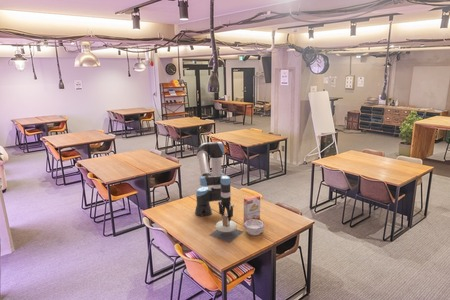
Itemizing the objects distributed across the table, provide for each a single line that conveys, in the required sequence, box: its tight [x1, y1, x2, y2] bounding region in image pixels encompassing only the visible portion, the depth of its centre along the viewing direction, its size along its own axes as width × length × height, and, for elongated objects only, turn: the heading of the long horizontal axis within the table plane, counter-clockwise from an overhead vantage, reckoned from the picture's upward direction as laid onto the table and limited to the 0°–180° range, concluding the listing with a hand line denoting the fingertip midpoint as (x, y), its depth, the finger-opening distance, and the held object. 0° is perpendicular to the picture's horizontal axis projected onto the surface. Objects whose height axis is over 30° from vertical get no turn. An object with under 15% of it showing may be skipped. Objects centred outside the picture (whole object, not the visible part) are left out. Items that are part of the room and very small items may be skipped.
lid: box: [215, 212, 238, 232], centre depth 244 cm, size 17×17×10 cm
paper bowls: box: [244, 219, 265, 236], centre depth 246 cm, size 15×15×8 cm
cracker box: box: [243, 194, 261, 222], centre depth 266 cm, size 14×6×21 cm, turn 122°
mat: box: [209, 228, 245, 243], centre depth 246 cm, size 20×20×1 cm
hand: (226, 223), depth 244 cm, fingers closed on lid, 4 cm apart
